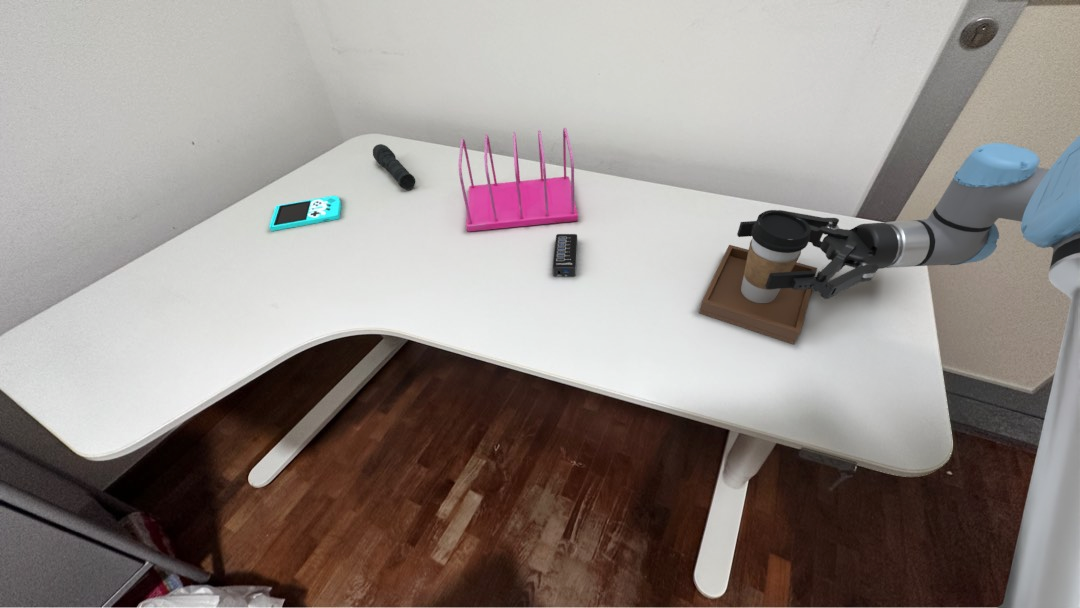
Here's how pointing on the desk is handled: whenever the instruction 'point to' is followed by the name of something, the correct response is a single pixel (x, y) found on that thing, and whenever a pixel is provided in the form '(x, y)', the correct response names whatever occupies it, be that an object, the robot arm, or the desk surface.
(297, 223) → the handheld game console
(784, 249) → the coffee cup
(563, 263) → the multiport hub
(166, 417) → the desk surface
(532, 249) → the desk surface
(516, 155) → the file sorter
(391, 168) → the flashlight
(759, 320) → the tray
